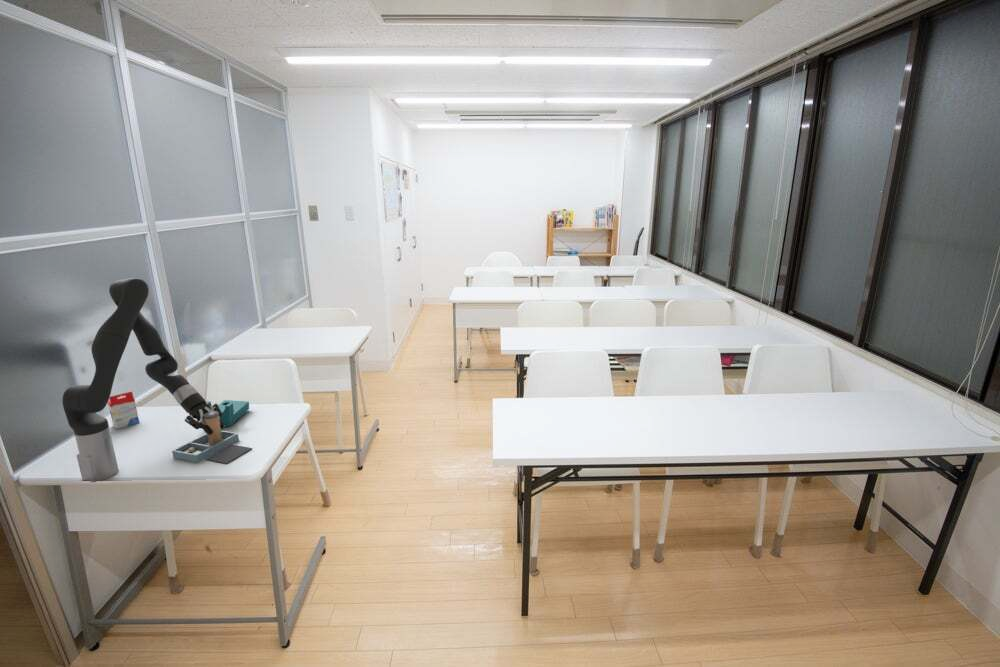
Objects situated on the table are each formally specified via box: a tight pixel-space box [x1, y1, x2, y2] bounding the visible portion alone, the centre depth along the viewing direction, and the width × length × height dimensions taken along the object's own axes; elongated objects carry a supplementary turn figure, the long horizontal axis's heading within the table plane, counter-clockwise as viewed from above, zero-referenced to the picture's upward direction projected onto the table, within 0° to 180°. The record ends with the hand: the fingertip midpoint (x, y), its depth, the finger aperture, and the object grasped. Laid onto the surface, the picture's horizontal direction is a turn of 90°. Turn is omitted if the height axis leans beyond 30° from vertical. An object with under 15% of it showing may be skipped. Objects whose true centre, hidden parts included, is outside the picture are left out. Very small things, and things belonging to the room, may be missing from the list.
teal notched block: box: [206, 399, 250, 427], centre depth 216 cm, size 18×11×10 cm, turn 2°
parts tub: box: [171, 429, 240, 464], centre depth 190 cm, size 19×12×3 cm, turn 162°
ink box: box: [107, 391, 140, 430], centre depth 209 cm, size 8×5×15 cm, turn 139°
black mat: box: [205, 443, 253, 465], centre depth 186 cm, size 12×10×1 cm
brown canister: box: [204, 411, 224, 446], centre depth 192 cm, size 5×5×13 cm
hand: (217, 430), depth 192 cm, fingers closed on brown canister, 4 cm apart
